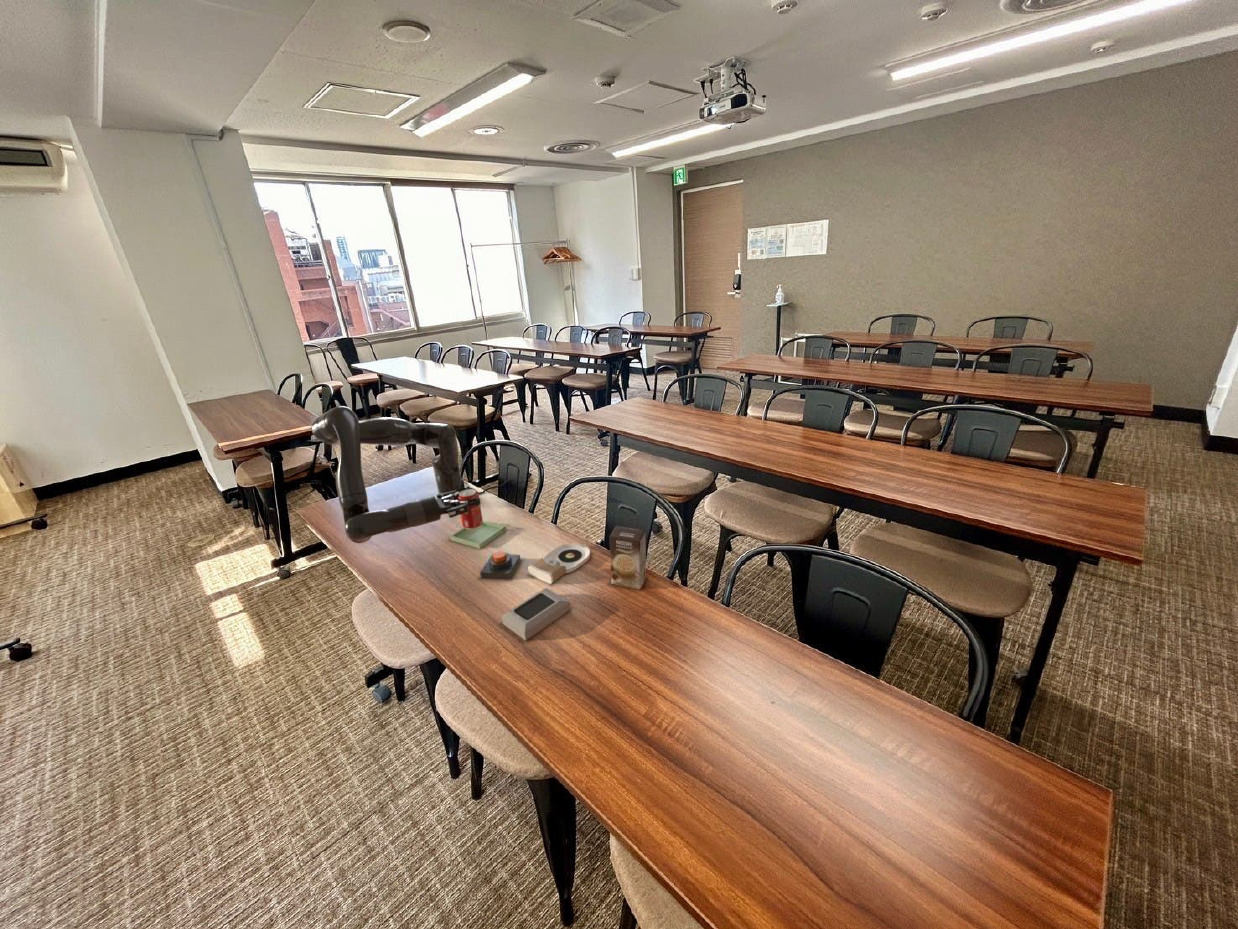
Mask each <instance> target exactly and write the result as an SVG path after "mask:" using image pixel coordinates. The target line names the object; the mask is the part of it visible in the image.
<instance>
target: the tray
mask: <svg viewBox="0 0 1238 929" xmlns="http://www.w3.org/2000/svg"><path fill="white" fill-rule="evenodd" d="M505 531H507V527H506V525H504V524H503V525H502V524H498V523H494V522H491V521H487V520H483V523H482V525H481V526H480V527H479V528H478V529H475V530H468V529H466V528H464V527H462V528H461V529H459V530H457V531H456V532H454V533H453V534H451V535H450V536H449V537H450V538H449V539H450V541H452V542H455V543H459V544H463V545H466V546H470V547H473V548H476V549H482V548H483V547H484V546H486V545H488V544H489V543H490V542H492V541H493V540H495V539H496V538H497V537H499V536H500V535H501V534H503V533H504V532H505Z"/></svg>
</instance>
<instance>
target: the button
mask: <svg viewBox="0 0 1238 929" xmlns="http://www.w3.org/2000/svg"><path fill="white" fill-rule="evenodd" d="M505 553H506V552H504V551H496V552H494V553H493V554H494V555H493V559H494V562H503V561H504V560H506V556H505Z"/></svg>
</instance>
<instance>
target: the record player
mask: <svg viewBox="0 0 1238 929" xmlns="http://www.w3.org/2000/svg"><path fill="white" fill-rule="evenodd" d="M590 558H591V550H590V548H589V547H588V546H587V545H585V544H583V543H578V542H570V543H569V542H568V543H563V544H561V545H559V546H557V547H556V548H555V549H553V550H552V551H550V552H549V553H547V554H546V555H545V556H544V557H541V558H539V559H538V560H536V561H535V562H533V563H532V564H530V565H529V566H528V567H527V571H528V574H529V575H530V576H531V577H533V578H536V579H538V580H540V581H542V582H545V583H547V584H549V585H551V584H553V583H554V582H555V581H557V580H558V579H560V578H561V577H562V576H564V575H565V574H569V573H572V572H574V571H576V570H577V569H579V568H580V567H581V566H583V565H584V564H585V563H587V562H588V561H589V559H590Z"/></svg>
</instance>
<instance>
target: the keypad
mask: <svg viewBox="0 0 1238 929" xmlns="http://www.w3.org/2000/svg"><path fill="white" fill-rule="evenodd" d="M569 611H571V602H570V601H569V600H567V599H566V598H564V597H563V596H560V595H559V594H558V593H555V592H554V591H552V590H551V589H549V588H547V587H545V588H543V589H542V590H540V591H538V592H537V593H535V594H534V595H532V596H530V597H529V598H527V599H526V600H524V601H523V602H521V603H519V604H518V605H516V606H515V607H513V608H512V609H510V610H509V611H507V612H505V613H504V614H503V615H502V616H501V622H502V625H503V626H505V627H506V628H508V629H509V630H510V631H512V632H513V633H515V634H516V635H517V636H518V637H520V638H521V639H522V640H524V641H527V640H530V639H531V638H532V637H533V636H535V635H536V634H538V633H539V632H540V631H542V630H543V629H545V628H547V627H548V626H549V625H551V624H552V623H553V622H554V621H556V620H558V619H559V618H561V617H563V615H565V614H566V613H567V612H569Z"/></svg>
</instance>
